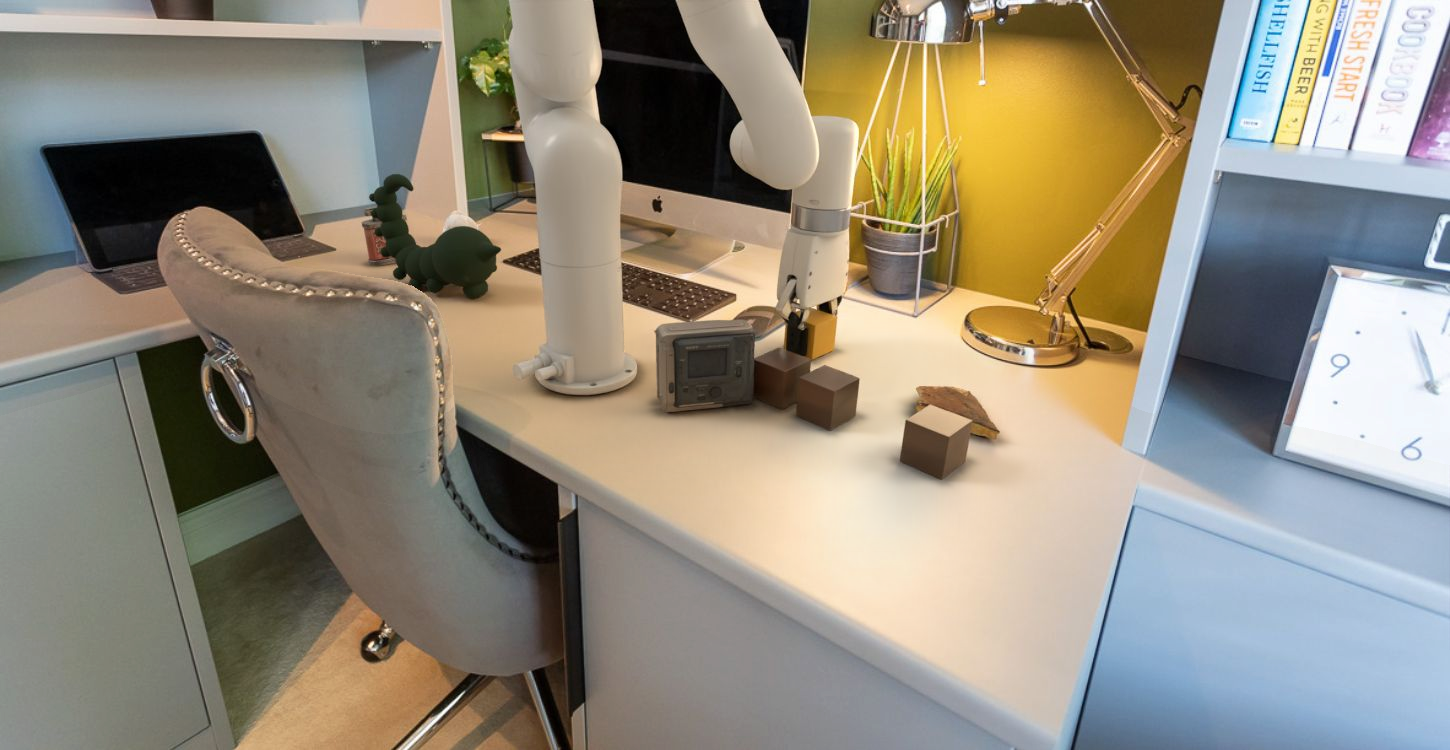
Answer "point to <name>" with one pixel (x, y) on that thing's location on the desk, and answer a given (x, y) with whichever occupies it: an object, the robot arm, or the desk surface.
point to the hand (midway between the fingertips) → (809, 346)
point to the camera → (704, 364)
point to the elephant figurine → (459, 221)
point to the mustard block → (818, 333)
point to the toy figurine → (433, 248)
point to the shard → (958, 407)
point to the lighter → (375, 240)
